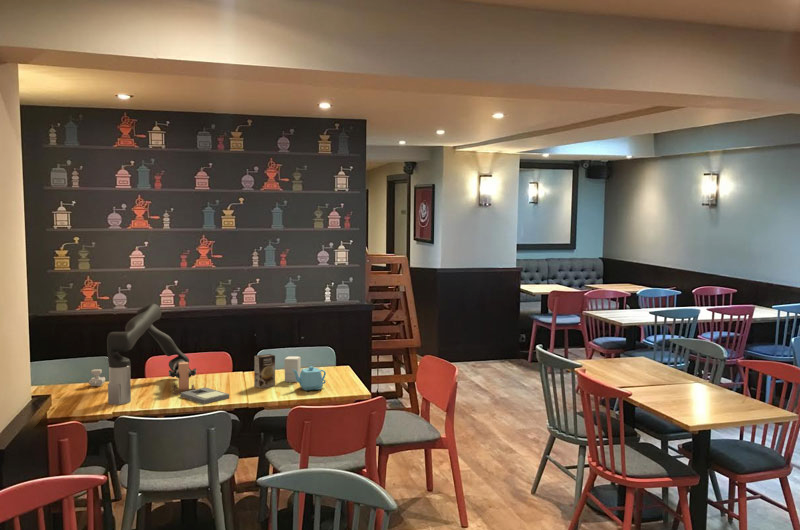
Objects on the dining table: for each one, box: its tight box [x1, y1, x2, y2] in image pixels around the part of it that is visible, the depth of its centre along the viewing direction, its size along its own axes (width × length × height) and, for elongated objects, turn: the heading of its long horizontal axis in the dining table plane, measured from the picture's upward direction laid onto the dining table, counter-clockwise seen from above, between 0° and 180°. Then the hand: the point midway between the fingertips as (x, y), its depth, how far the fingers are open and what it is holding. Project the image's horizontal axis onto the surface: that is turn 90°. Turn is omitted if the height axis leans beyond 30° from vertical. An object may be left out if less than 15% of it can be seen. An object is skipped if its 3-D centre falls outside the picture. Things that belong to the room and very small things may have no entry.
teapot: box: [292, 365, 327, 392], centre depth 331 cm, size 12×18×12 cm
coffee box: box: [253, 353, 276, 389], centre depth 336 cm, size 9×6×16 cm
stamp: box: [88, 368, 106, 387], centre depth 334 cm, size 9×7×8 cm
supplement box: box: [283, 355, 302, 383], centre depth 349 cm, size 7×7×13 cm
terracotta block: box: [178, 362, 190, 390], centre depth 325 cm, size 4×4×14 cm
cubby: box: [172, 384, 196, 395], centre depth 325 cm, size 9×10×2 cm
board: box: [179, 387, 230, 405], centre depth 314 cm, size 20×14×2 cm
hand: (184, 376), depth 322 cm, fingers closed on terracotta block, 4 cm apart
